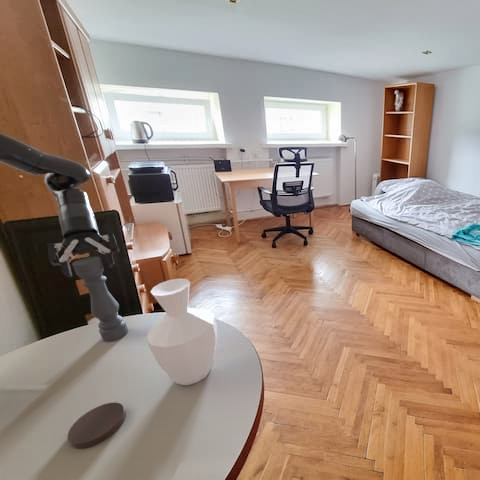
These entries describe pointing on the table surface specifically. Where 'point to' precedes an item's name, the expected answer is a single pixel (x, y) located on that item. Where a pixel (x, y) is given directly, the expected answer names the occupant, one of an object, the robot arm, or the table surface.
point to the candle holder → (101, 299)
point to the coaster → (96, 425)
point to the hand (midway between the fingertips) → (90, 271)
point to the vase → (182, 334)
